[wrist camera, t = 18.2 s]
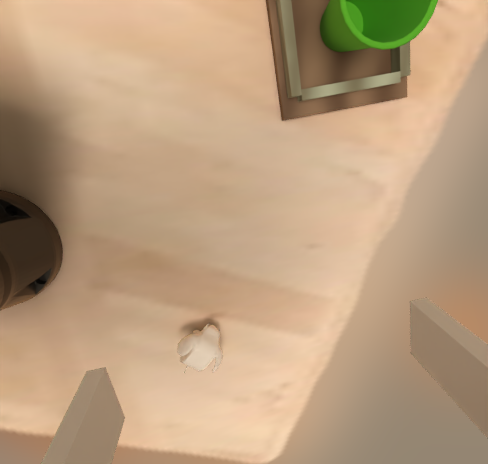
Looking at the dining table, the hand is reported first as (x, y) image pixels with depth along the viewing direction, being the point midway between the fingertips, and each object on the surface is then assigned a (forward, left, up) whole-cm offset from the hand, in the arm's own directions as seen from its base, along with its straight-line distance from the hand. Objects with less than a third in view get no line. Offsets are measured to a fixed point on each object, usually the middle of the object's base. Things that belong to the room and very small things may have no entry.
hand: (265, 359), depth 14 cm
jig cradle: (+17, +18, -32) cm, 40 cm away
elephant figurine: (-8, -20, -32) cm, 39 cm away
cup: (+17, +18, -31) cm, 39 cm away
